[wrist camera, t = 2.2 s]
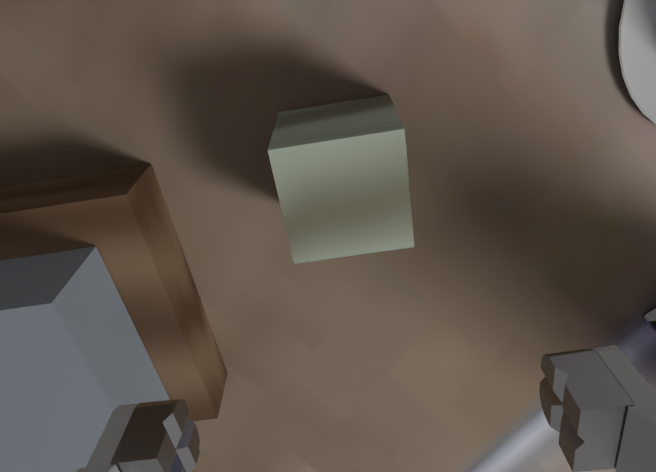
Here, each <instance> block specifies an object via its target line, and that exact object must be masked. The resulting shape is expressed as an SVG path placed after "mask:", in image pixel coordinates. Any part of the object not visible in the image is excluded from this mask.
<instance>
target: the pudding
mask: <svg viewBox="0 0 656 472" xmlns="http://www.w3.org/2000/svg"><path fill="white" fill-rule="evenodd" d="M619 59H620V64H621V70H622V76H623V79H624V81H625V84H626V86H627V89H628V91H629V94H630V96H631V98H632V99H633V100H634V102H635V103H636V105H637V106H638V108H639V109H640V110H641V112H642V113H643V114H644V115H645V116H646V117H648V118H649V119H650V120H651V121H652V122H653V123H655V124H656V0H624V3H623V9H622V14H621V20H620V25H619Z"/></svg>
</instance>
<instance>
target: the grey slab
mask: <svg viewBox="0 0 656 472" xmlns="http://www.w3.org/2000/svg"><path fill="white" fill-rule="evenodd" d="M164 400H170V399H169V397H168V395H167V392H166V390H165V388H164V386H163V384H162V382H161V380H160V378H159V376H158V374H157V372H156V370H155V368H154V365H153V363H152V361H151V359H150V357H149V355H148V353H147V351H146V349H145V347H144V345H143V343H142V341H141V339H140V336H139V334H138V332H137V330H136V328H135V326H134V324H133V322H132V320H131V318H130V316H129V314H128V312H127V309H126V307H125V305H124V303H123V301H122V299H121V297H120V295H119V293H118V291H117V289H116V287H115V285H114V282H113V280H112V278H111V276H110V274H109V272H108V270H107V268H106V266H105V264H104V262H103V260H102V258H101V255H100V253H99V251H98V249H97V247H96V246H95V247H88V248H81V249H75V250H68V251H61V252H55V253H48V254H41V255H35V256H28V257H21V258H15V259H8V260H1V261H0V472H76V471H77V470H78V469H79V468H85V467H86V465H87V463H88V461H89V459H90V457H91V455H92V453H93V451H94V449H95V447H96V445H97V443H98V441H99V439H100V437H101V435H102V433H103V430H104V428H105V426H106V424H107V422H108V420H109V418H110V416H111V414H112V412H113V410H114V409H115V408H116V407H118V406H119V405H127V404H137V403H143V402H154V401H164Z"/></svg>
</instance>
